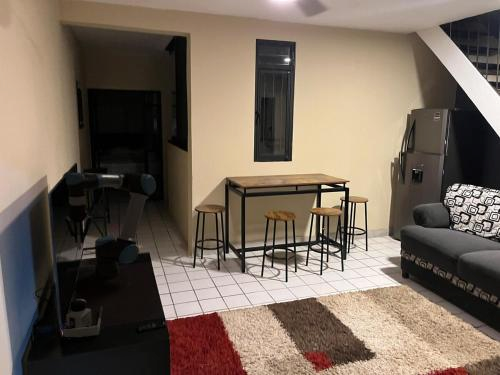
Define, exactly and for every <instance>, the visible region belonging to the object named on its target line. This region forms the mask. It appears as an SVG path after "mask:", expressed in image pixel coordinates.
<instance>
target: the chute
mask: <svg viewBox="0 0 500 375" xmlns="http://www.w3.org/2000/svg"><path fill="white" fill-rule="evenodd" d="M99 307H100V308H99V312H98V320H97V325H90V326H89V327H81V328H72V329H64V328H63V329H62V330H63V335H64V336H65V337H76V338H83V337H84V336H85V337H93V336H99V335H100V328H101V321H102V315H103V305H101V306H99ZM69 312H71V308H70V309H69Z"/></svg>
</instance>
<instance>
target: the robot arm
mask: <svg viewBox="0 0 500 375" xmlns="http://www.w3.org/2000/svg"><path fill="white" fill-rule="evenodd" d="M64 176H66V183H67V185H66V186H67V188H68V189H67V190H68V203H69V207H68V208H69V213H68V216H65V217H64V219H65V220H64V221H65V223H66V224H67V228H68V231H69V234H70V236H71V237H74V243H75V244H77V251H79V250H82V244H83V242H84V236H87V234H88V231H89V226H90V221H91V220H92V216H91V215H90V216H89V215H88V213H87V206H86V205H87V204H86V201H87V200H86V192H87V191H92V190H95V189H96V190H97V189H100V188H102V187H103V188H113V189H116V190H123V191H128V192H129V195H130V200H129V203H128V207H127V210H126V214H125V218H124V221H123V224H122V228H121V232H120V234H119V236H117V237H116V236H114V235H105V236H101V237H99V238H96V239H95V242H94V254H95V264H94V268H93V271H92V274H93V277H94V278H96V279H99V280H101V279H102V280H105V279H112V278H115V277H116V276H119V275H120V273H121V272H120V267H119V264H118V263H121V264H131V263H132V262H134V261H135V260H136V259H137V257H138V255H139V246H138V245H137V240H136V236H137V231H138V228H139V224H140V221H141V218H142V214H143V212H144V207H145V203H146V200H148V199H149V198H150V195H153V193H154V192H155V191H156V188H157V184H156V180H155V178H154V177H153V175H151V174H147V173H138V172H115V173H95V172H93V173H92V172H75V171H66V172H65V173H63V176H62V178H63V177H64ZM85 219H86V224H85V227H84V221H85ZM71 220H72V222H73V225H72V223H71ZM78 223H79V226H78ZM72 226H73V227H74V229H73V227H72ZM78 228H79V229H78ZM79 233H80V234H79Z"/></svg>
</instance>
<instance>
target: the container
mask: <svg viewBox="0 0 500 375" xmlns="http://www.w3.org/2000/svg"><path fill="white" fill-rule="evenodd" d="M70 309H71V312H70V311H69V312H70V313H69V312H68V313H67V314H66V315H65V316H66V321H67V325H68V326H70V327H72V328H81V327H86V326H89V327H90V326H92V320H93V319H92V309H91V308H87V301H86V300H85V299H83V298H77V299H74V300H72V301H71V302H70Z"/></svg>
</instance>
